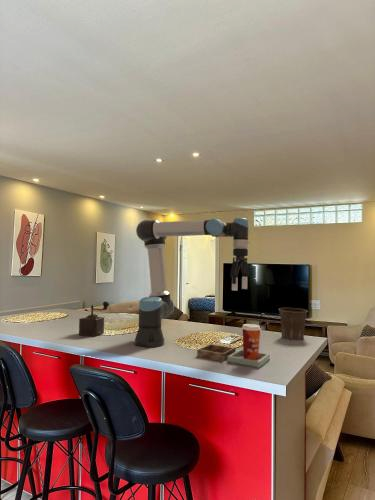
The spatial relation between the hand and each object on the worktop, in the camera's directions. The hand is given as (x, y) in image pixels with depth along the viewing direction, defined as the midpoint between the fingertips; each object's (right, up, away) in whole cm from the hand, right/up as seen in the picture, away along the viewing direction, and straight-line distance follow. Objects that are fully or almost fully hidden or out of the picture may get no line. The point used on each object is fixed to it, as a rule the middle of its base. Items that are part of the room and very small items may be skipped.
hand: (239, 289), depth 175 cm
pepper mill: (-80, -28, +21) cm, 88 cm away
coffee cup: (+1, -28, -27) cm, 39 cm away
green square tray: (0, -28, -27) cm, 39 cm away
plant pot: (+34, -31, +23) cm, 51 cm away
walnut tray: (-14, -28, -19) cm, 36 cm away
